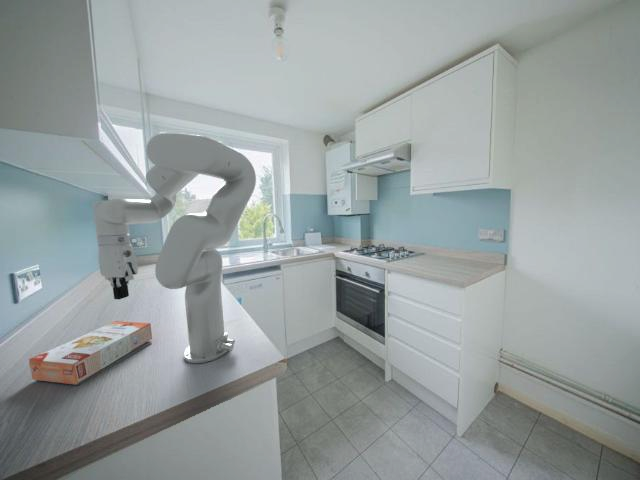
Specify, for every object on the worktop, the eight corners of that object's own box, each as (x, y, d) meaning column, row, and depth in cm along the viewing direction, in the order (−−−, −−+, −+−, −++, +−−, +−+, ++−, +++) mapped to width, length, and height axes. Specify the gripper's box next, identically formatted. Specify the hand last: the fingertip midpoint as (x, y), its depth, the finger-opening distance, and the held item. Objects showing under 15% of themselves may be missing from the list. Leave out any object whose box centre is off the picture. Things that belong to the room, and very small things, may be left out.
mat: (151, 343, 72) (151, 342, 72) (79, 384, 55) (79, 383, 55) (115, 338, 76) (115, 337, 76) (38, 374, 59) (37, 373, 59)
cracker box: (151, 321, 74) (72, 363, 53) (153, 338, 74) (76, 386, 54) (115, 319, 76) (26, 359, 56) (117, 336, 77) (30, 381, 56)
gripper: (144, 239, 72) (151, 295, 74) (110, 239, 76) (117, 292, 78) (118, 242, 64) (126, 304, 66) (82, 242, 68) (91, 300, 70)
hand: (121, 297), depth 72 cm, fingers closed
